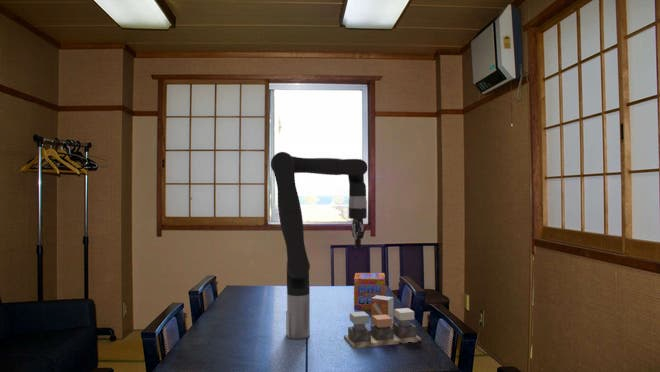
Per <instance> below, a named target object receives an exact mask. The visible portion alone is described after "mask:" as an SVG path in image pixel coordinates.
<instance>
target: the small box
mask: <svg viewBox="0 0 660 372" xmlns="http://www.w3.org/2000/svg"><path fill="white" fill-rule="evenodd" d="M394 309H395V308H394V296H386V295H385V296H379V295H376V296H374V297H372V298H371V310H370V326H371V325H374V324H373V323H372V316H374V315H388V316H389V317H390V318H392V326H391V327H393V323H395V322H394V318H395V317H394Z"/></svg>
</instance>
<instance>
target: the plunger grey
mask: <svg viewBox="0 0 660 372" xmlns="http://www.w3.org/2000/svg"><path fill="white" fill-rule="evenodd" d="M349 321H350V322H351V323H352V324H353V326H354V331H364V330H365V326H366V324H370V315H369V314H368V313H366V312H365V310H363V311H354V312H353V311H351V312H349Z"/></svg>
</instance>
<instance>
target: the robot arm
mask: <svg viewBox="0 0 660 372" xmlns="http://www.w3.org/2000/svg"><path fill="white" fill-rule="evenodd" d="M270 167H271V170H272V171H273V173H274V174H273V175H274V177H275V181H276V187H277V210H278V218H279V223H280V228H281V232H282V236H283V239H284V242H285V247H286V255H287V256H286V259H287V261H286V302H287V303H286V312H285V326H286V327H285V330H286V331H285V334H286V336H287V338H288V339H294V340H302V339H306V338H309V337H310V335H311V331H310V329H311V327H310V326H311V322H310V321H311V320H310V319H311V316H310V315H311V313H310V308H311V306H310V301H311V300H310V296H311V295H310V294H311V293H310V289H311V288H310V270H311V263H310V261H309V258H308V254H307V251H306V247H305V236H304V232H305V231H304V222H303V214H302V213H303V212H302V208H301V202H300V198H299V194H298V191H297V187H296V178H295V174H317V175H329V176H331V175H332V176H342V175H343V176H344V175H345V176H346V175H347V176H348V183H349V189H348V190H349V191H348V192H349V193H348V218H349V219H350V220H351V219H352V222H351V224H350V229H351V230H350V231H351V234H352V235H351V236H352V237H353V239H354V248H355V249H356V250H357V249H358V250H359V249H360V250H361V248H362V244H361V243H362V239H364V235H365V232H366V227H365V226H364V221H363V219H367V218H368V216H367V215H368V213H367V212H368V211H367V209H368V208H367V207H368V206H367V204H368V203H367V201H368V200H367V186H366V183H365V178H364V177H365V176H364V175H366V173H367V171H368V169H369V168H368V164H367V162H366V161H365V160H363V159H361V158H338V157H335V158H334V157H297V156H294V155H291V154H290V153H288V152H286V151H279V152H277V153H275V154H274V156H272V158H271V161H270Z"/></svg>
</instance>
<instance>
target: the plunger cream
mask: <svg viewBox="0 0 660 372" xmlns="http://www.w3.org/2000/svg"><path fill="white" fill-rule="evenodd" d="M393 314H394V318H396V320H397V321H398V322H397V323H398V325H399V326H400V327H409V326H410V323H411V320H415V311H414V310H413V309H410V308H409V307H405V308H404V307H403V308H393Z"/></svg>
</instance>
